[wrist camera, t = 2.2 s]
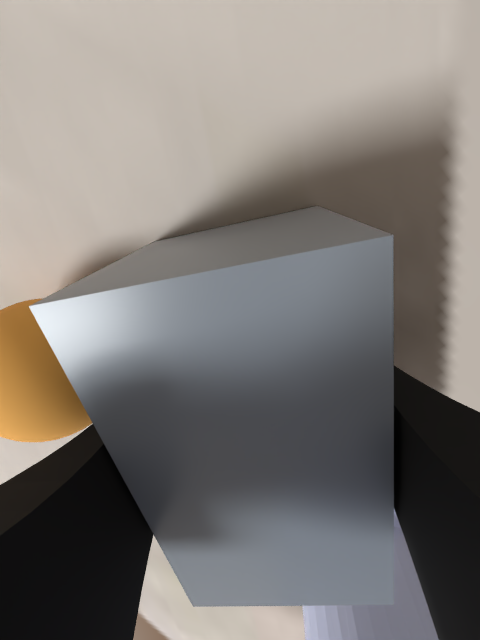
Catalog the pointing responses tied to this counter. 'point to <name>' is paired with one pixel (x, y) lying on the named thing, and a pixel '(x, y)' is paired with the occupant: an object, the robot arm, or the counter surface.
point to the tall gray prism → (248, 403)
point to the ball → (34, 382)
